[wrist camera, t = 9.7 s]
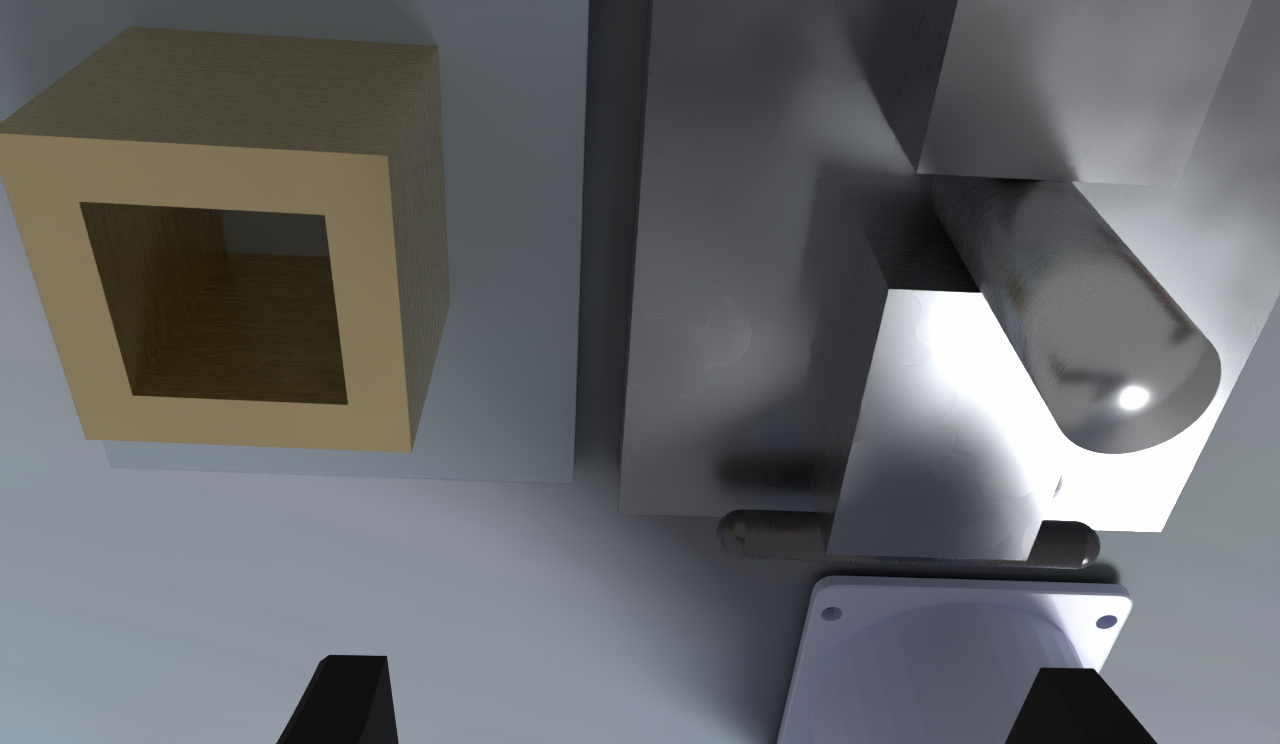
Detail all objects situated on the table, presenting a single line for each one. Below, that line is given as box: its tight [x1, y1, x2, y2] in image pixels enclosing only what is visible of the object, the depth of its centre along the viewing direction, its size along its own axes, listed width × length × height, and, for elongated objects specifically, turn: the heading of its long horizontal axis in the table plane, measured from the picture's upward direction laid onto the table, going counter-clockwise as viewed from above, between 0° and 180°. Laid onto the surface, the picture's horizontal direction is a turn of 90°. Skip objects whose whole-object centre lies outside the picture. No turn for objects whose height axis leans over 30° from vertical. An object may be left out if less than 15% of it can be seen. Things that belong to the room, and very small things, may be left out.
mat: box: [0, 0, 589, 484], centre depth 18 cm, size 14×10×1 cm
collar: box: [0, 26, 450, 453], centre depth 16 cm, size 5×5×4 cm
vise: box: [618, 0, 1280, 569], centre depth 15 cm, size 16×12×8 cm
